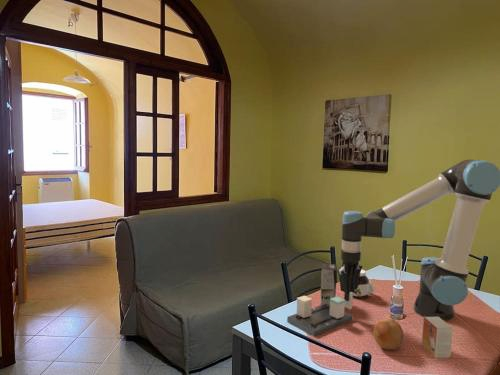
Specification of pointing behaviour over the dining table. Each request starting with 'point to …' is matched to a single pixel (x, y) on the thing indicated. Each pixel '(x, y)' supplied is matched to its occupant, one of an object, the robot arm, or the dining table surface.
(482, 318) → the dining table surface
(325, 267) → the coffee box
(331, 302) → the block
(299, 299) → the block
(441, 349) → the small box
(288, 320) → the console
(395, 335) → the onion
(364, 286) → the spread jar
